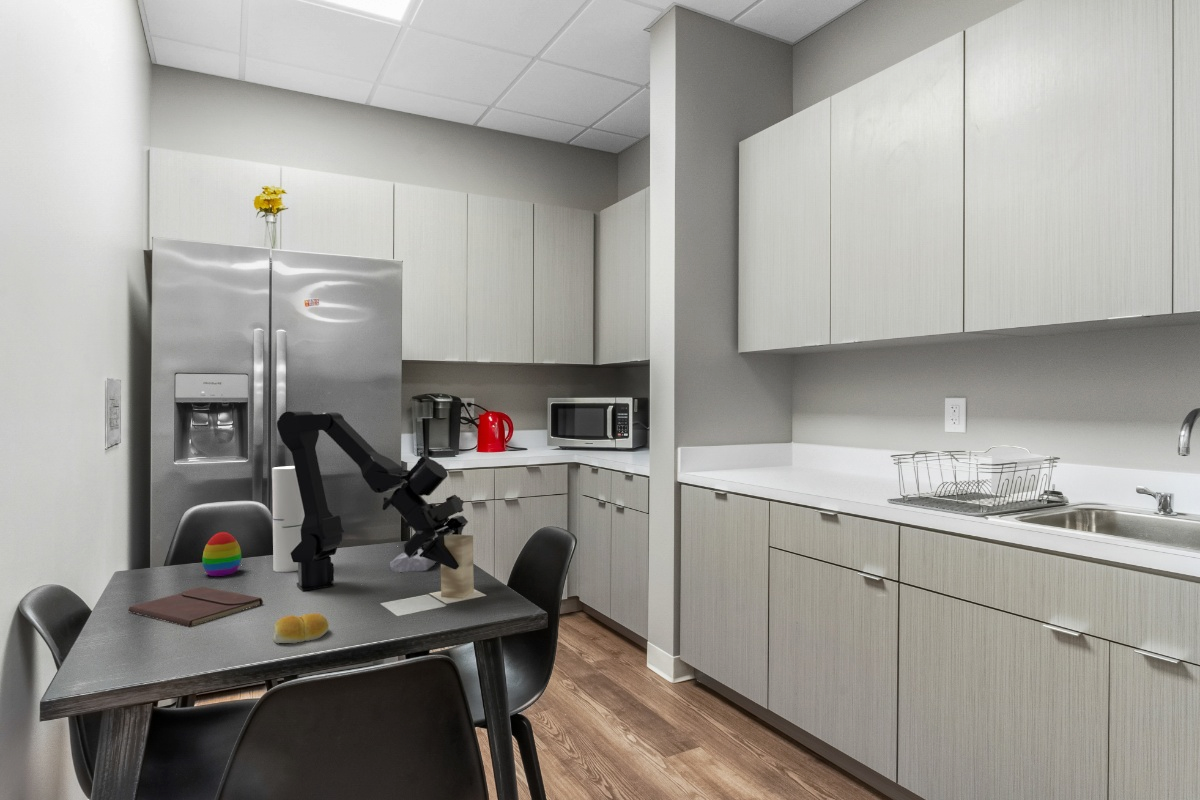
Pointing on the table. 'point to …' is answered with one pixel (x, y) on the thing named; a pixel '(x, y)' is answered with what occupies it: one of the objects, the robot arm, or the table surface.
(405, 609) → the grey mat
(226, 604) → the notebook
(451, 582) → the maple block
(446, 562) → the robot arm
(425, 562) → the stone block
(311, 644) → the table surface
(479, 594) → the tile
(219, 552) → the decorative egg
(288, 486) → the cylindrical container
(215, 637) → the table surface
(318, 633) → the bread roll
